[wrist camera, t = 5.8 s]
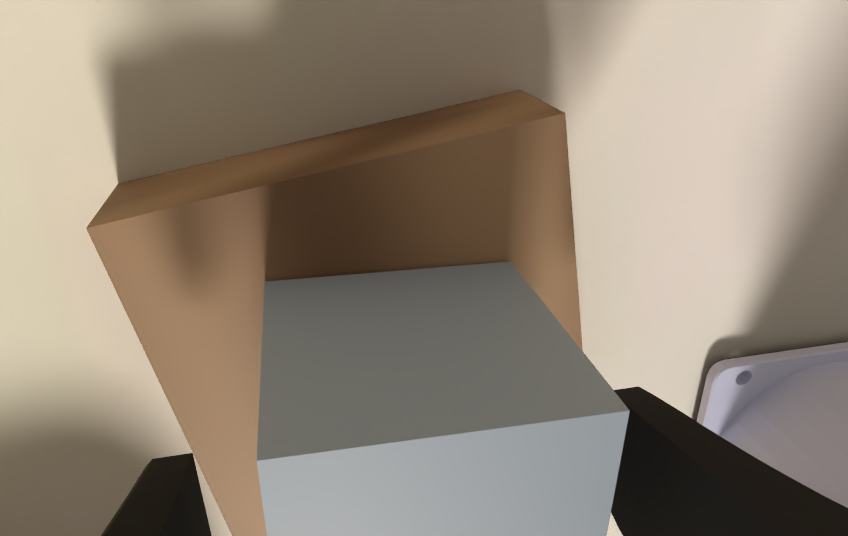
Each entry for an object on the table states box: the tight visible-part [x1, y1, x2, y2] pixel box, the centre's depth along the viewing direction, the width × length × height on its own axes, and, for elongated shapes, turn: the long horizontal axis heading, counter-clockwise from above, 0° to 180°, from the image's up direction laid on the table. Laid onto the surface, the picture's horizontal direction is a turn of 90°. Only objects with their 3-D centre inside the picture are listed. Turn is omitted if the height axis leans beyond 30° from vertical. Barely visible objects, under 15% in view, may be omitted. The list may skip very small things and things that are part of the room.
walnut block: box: [86, 90, 582, 536], centre depth 15 cm, size 9×9×3 cm
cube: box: [257, 261, 630, 536], centre depth 11 cm, size 5×5×5 cm
